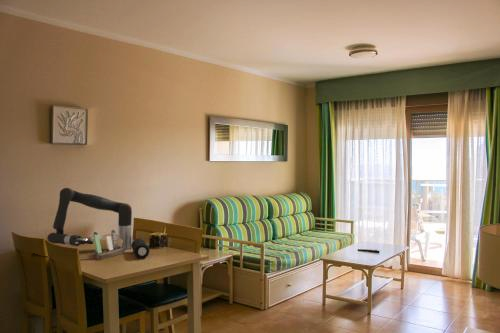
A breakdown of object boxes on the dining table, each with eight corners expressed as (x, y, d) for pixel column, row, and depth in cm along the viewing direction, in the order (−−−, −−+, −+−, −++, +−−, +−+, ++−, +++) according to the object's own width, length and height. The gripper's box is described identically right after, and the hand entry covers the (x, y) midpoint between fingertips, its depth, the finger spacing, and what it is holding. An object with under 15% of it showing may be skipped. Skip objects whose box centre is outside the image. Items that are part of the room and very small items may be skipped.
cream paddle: (107, 250, 291) (105, 236, 292) (111, 249, 295) (109, 235, 295) (109, 250, 290) (106, 236, 291) (113, 249, 294) (110, 235, 295)
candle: (167, 246, 327) (167, 233, 327) (159, 248, 318) (159, 235, 318) (156, 244, 331) (157, 232, 331) (148, 247, 322) (148, 234, 322)
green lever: (95, 254, 281) (91, 232, 283) (99, 253, 284) (95, 231, 286) (98, 253, 280) (94, 231, 282) (102, 252, 283) (98, 231, 285)
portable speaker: (130, 251, 304) (131, 238, 304) (145, 251, 308) (145, 237, 308) (134, 259, 281) (135, 244, 280) (150, 258, 284) (150, 244, 284)
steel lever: (113, 249, 297) (110, 230, 298) (116, 248, 300) (113, 230, 301) (116, 248, 296) (112, 230, 297) (119, 248, 299) (115, 229, 300)
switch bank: (90, 258, 281) (90, 251, 281) (114, 251, 302) (114, 245, 302) (101, 259, 278) (101, 252, 278) (124, 253, 299) (124, 246, 299)
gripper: (65, 236, 285) (85, 238, 278) (80, 233, 297) (99, 235, 291) (65, 247, 285) (84, 249, 279) (80, 243, 298) (99, 246, 291)
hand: (92, 242), depth 285 cm, fingers closed
